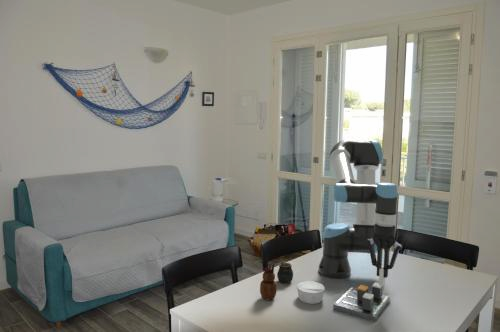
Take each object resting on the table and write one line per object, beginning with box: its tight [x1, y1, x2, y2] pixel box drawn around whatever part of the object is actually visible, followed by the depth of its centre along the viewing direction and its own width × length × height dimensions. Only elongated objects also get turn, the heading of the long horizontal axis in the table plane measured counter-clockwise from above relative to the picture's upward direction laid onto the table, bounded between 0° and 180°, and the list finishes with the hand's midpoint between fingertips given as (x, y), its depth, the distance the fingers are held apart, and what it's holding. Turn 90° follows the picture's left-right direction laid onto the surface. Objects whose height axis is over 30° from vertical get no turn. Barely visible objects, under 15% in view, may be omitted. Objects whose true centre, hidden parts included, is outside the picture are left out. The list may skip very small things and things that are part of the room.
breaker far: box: [371, 282, 384, 299], centre depth 157 cm, size 3×4×5 cm
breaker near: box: [362, 293, 374, 311], centre depth 147 cm, size 3×4×5 cm
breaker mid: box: [357, 284, 369, 301], centre depth 154 cm, size 3×4×5 cm
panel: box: [332, 286, 391, 322], centre depth 155 cm, size 16×20×2 cm
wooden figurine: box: [259, 262, 278, 301], centre depth 158 cm, size 7×6×15 cm
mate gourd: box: [276, 257, 294, 285], centre depth 176 cm, size 7×8×10 cm
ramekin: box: [296, 280, 326, 305], centre depth 159 cm, size 11×11×5 cm
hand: (381, 284), depth 149 cm, fingers closed
